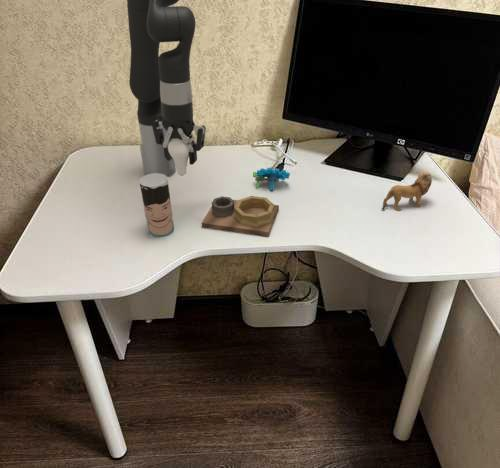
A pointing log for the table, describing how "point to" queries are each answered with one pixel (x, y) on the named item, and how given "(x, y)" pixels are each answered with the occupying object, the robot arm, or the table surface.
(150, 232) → the face-printed can
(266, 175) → the gear
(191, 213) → the table surface
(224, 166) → the table surface
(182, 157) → the lightbulb
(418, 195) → the lion figurine
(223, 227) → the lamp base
